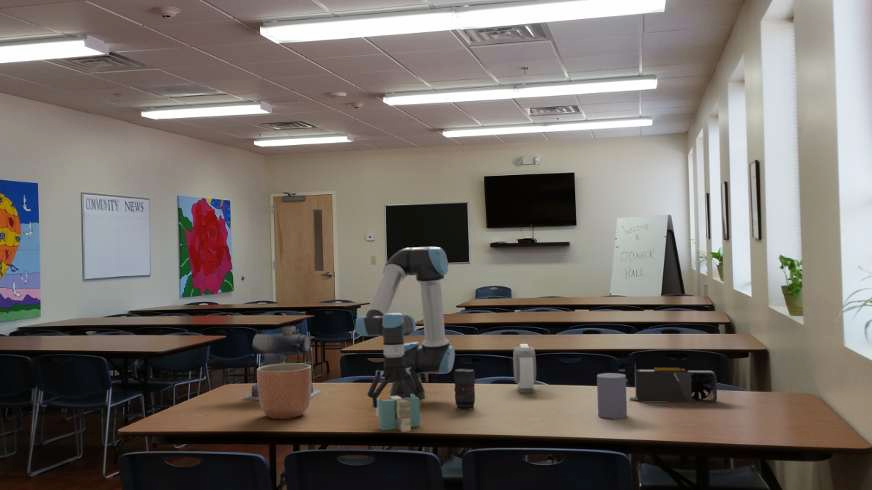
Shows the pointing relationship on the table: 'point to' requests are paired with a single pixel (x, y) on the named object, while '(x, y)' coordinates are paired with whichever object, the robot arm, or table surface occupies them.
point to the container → (612, 395)
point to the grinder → (279, 351)
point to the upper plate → (402, 413)
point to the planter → (284, 389)
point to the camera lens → (464, 388)
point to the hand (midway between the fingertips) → (395, 414)
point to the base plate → (388, 413)
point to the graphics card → (674, 385)
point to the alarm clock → (524, 367)
